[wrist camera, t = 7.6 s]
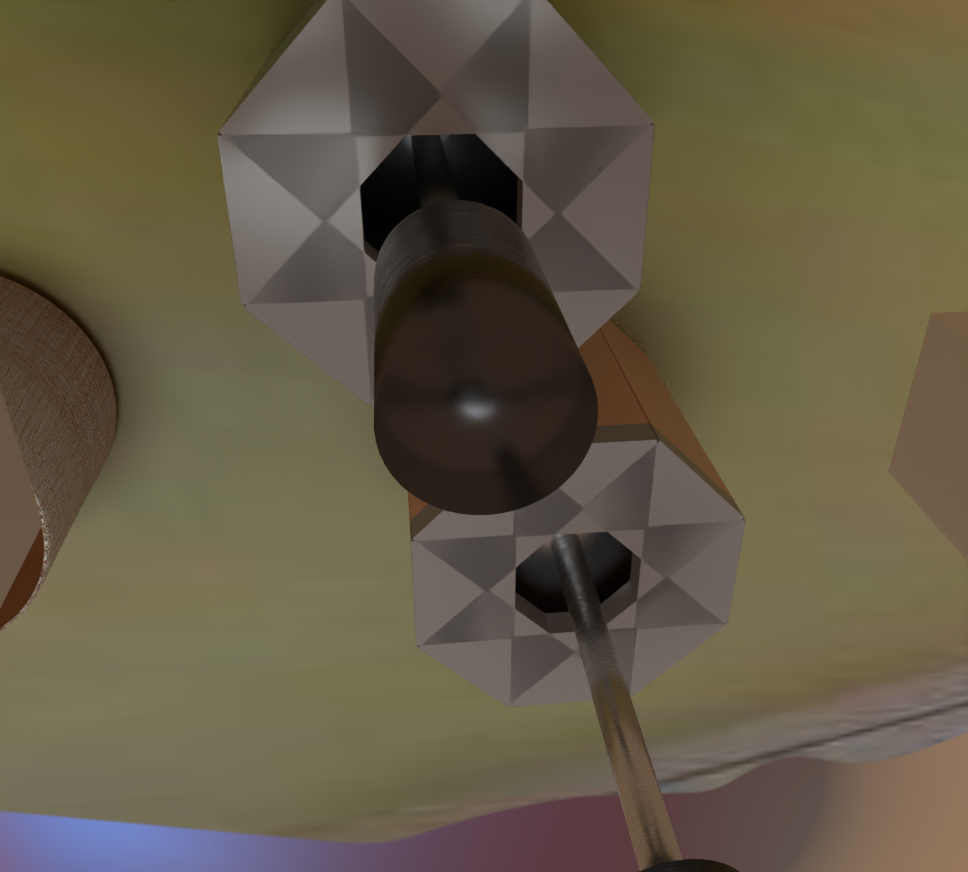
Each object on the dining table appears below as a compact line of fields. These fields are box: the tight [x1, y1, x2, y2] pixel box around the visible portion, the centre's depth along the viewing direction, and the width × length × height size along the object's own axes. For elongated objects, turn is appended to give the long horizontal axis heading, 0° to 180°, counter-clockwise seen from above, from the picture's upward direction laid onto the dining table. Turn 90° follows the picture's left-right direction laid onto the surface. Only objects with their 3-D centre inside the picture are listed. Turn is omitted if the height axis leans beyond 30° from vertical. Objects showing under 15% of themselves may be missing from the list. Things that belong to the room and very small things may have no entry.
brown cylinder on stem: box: [515, 532, 739, 872], centre depth 23 cm, size 8×8×20 cm
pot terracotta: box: [408, 319, 745, 707], centre depth 35 cm, size 13×10×12 cm
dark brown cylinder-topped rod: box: [361, 134, 598, 515], centre depth 22 cm, size 8×8×20 cm
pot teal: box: [217, 0, 655, 406], centre depth 28 cm, size 13×10×12 cm
